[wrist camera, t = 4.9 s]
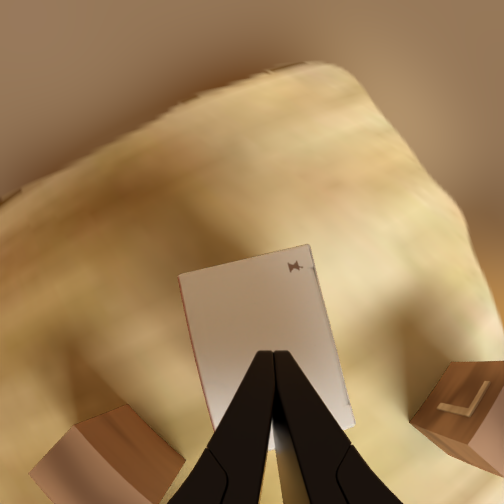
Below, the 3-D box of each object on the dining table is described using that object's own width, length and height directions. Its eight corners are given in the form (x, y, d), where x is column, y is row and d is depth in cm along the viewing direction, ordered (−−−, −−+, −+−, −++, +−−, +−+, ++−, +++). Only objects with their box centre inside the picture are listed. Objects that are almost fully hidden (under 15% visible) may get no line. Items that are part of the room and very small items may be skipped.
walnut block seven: (448, 454, 18) (505, 478, 11) (407, 421, 20) (466, 443, 12) (485, 397, 20) (548, 403, 12) (449, 360, 21) (514, 358, 13)
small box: (208, 303, 22) (173, 268, 12) (284, 286, 23) (310, 237, 13) (233, 411, 20) (219, 463, 10) (311, 392, 21) (358, 427, 11)
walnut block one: (138, 499, 18) (98, 546, 10) (83, 444, 19) (25, 470, 11) (186, 460, 19) (156, 507, 11) (125, 402, 20) (71, 421, 13)
